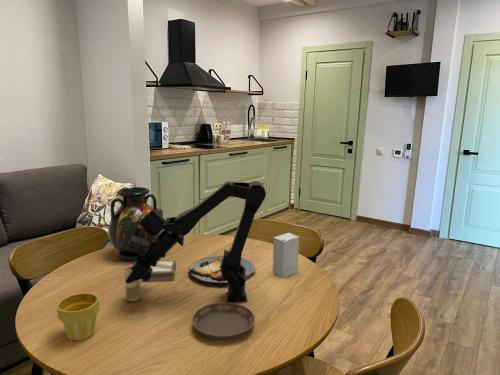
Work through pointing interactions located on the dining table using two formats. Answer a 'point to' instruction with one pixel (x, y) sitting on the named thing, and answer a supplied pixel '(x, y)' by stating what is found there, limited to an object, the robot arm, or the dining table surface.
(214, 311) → the plant saucer
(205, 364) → the dining table surface
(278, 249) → the skincare box
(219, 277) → the food plate
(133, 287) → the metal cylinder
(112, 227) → the amphora vase
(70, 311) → the plant pot
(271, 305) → the dining table surface
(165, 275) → the plinth
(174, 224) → the robot arm
